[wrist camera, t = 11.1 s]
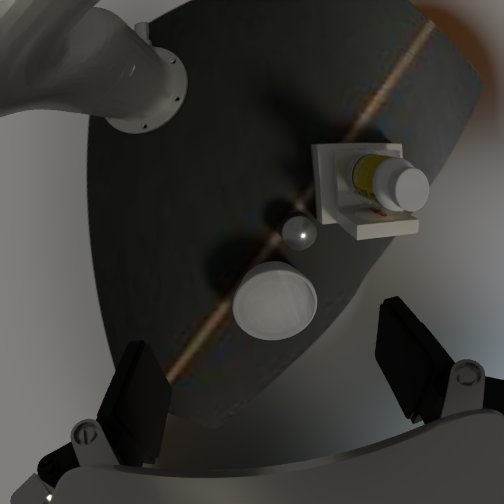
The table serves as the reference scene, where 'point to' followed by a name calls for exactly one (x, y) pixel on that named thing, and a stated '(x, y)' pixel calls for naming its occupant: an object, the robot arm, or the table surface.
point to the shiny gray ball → (297, 231)
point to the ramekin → (274, 301)
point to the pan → (343, 174)
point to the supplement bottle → (390, 182)
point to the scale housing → (354, 216)
